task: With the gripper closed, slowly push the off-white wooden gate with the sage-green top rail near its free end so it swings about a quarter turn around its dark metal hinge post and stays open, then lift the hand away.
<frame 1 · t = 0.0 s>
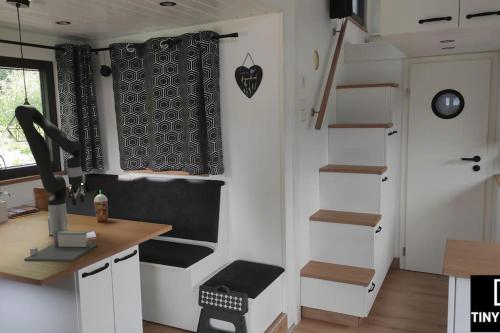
hand: (78, 203, 244), 17 cm above the worktop, tool pointing down, fingers open, 8 cm apart
gate: (72, 239, 216), point 5 cm above the worktop, hinge at 0.0°
smoothie: (102, 221, 274), on the worktop
gate frame: (56, 248, 218), on the worktop
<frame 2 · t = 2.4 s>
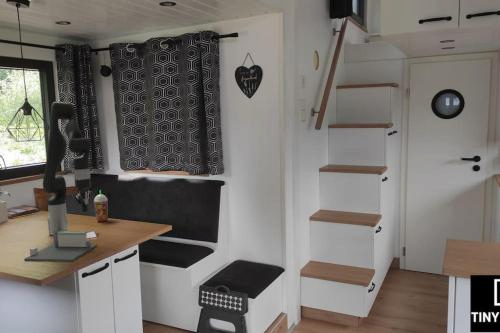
hand: (85, 211, 220), 18 cm above the worktop, tool pointing down, fingers closed
nothing on the worktop moved.
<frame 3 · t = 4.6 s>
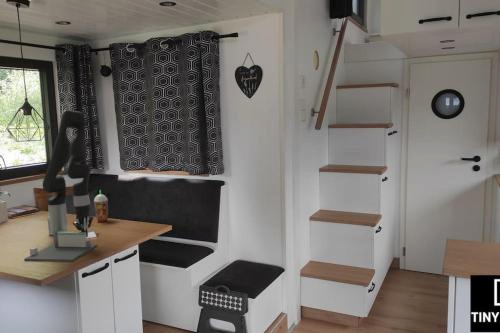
hand: (84, 237, 219), 5 cm above the worktop, tool pointing down, fingers closed
gate: (72, 239, 216), point 5 cm above the worktop, hinge at 1.6°, touching gripper
everything else where it was.
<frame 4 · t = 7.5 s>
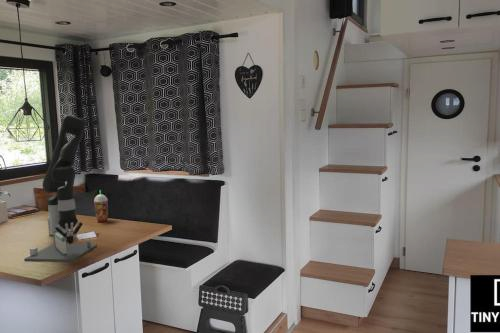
hand: (70, 243, 209), 5 cm above the worktop, tool pointing down, fingers closed
gate: (60, 242, 211), point 5 cm above the worktop, hinge at 45.1°, touching gripper
everything else where it was.
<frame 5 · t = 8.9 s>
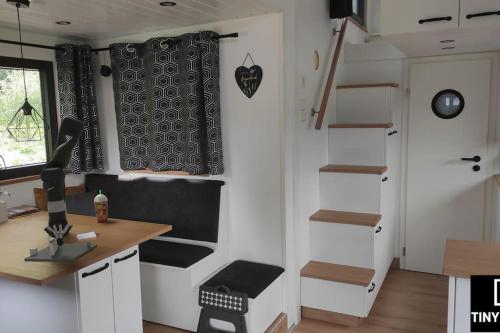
hand: (60, 245, 206), 5 cm above the worktop, tool pointing down, fingers closed
gate: (53, 243, 209), point 5 cm above the worktop, hinge at 64.3°, touching gripper
everything else where it was.
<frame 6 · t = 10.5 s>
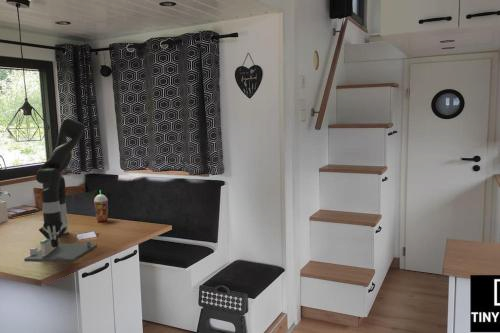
hand: (55, 246, 204), 5 cm above the worktop, tool pointing down, fingers closed
gate: (49, 244, 209), point 5 cm above the worktop, hinge at 78.2°
everything else where it was.
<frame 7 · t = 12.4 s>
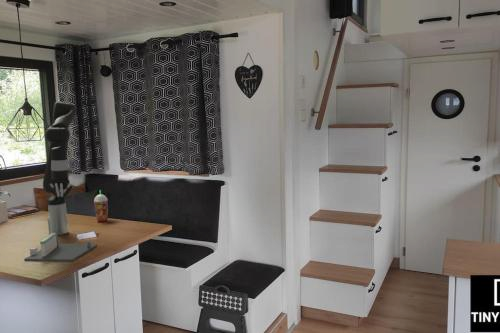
hand: (61, 203, 213), 23 cm above the worktop, tool pointing down, fingers closed
nothing on the worktop moved.
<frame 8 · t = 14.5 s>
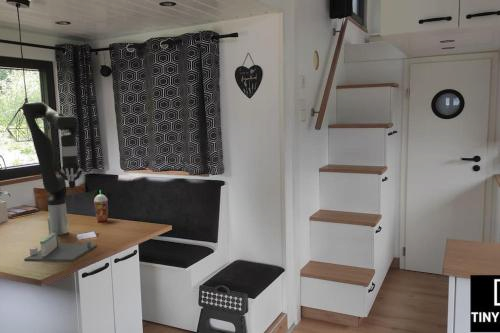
hand: (72, 187, 226), 29 cm above the worktop, tool pointing down, fingers closed
nothing on the worktop moved.
at the end: gate at +78° (first picture: +0°); smoothie moved 0.2 cm from its start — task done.
